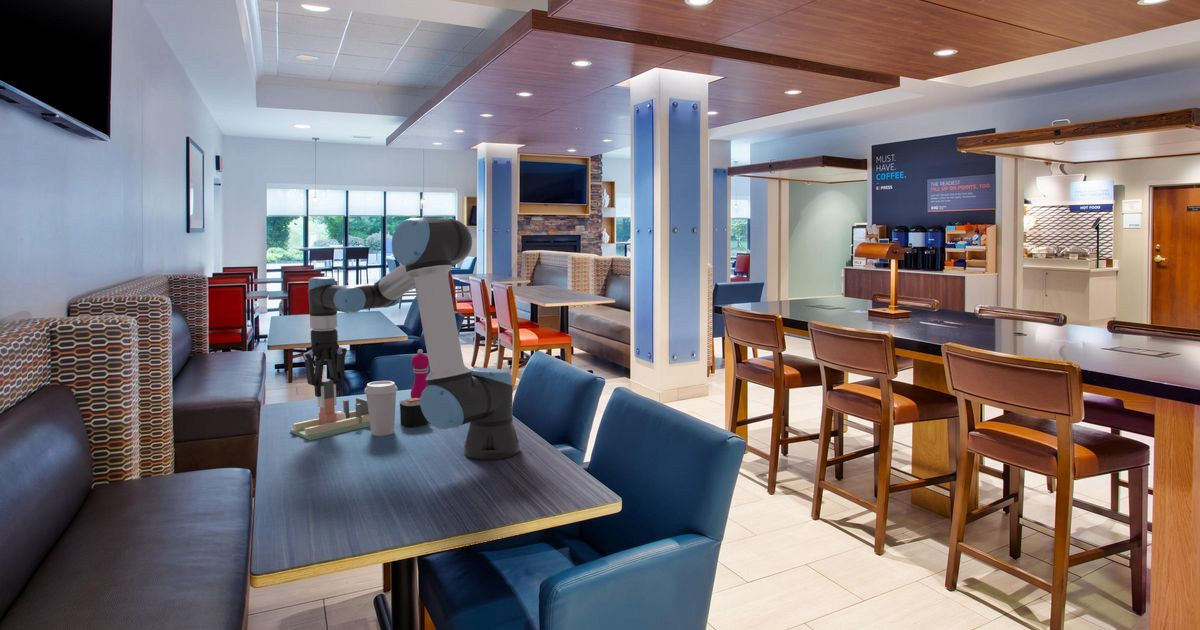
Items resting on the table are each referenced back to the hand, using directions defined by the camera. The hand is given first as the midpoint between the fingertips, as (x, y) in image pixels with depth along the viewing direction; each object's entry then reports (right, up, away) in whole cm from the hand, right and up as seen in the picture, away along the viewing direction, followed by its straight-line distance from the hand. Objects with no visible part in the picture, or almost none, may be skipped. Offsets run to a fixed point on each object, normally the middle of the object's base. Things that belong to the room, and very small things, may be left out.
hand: (327, 405), depth 216 cm
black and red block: (0, -6, +1) cm, 6 cm away
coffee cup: (+17, -8, -2) cm, 19 cm away
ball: (+2, -4, +3) cm, 6 cm away
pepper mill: (+22, -4, +28) cm, 36 cm away
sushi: (+24, -7, +8) cm, 27 cm away
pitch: (+1, -7, +3) cm, 8 cm away
